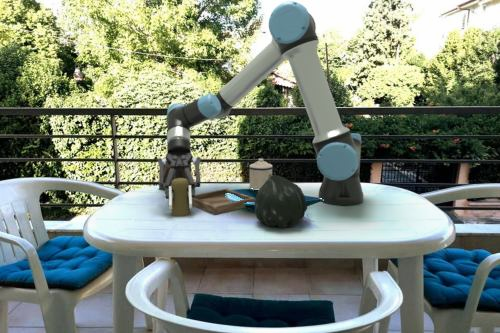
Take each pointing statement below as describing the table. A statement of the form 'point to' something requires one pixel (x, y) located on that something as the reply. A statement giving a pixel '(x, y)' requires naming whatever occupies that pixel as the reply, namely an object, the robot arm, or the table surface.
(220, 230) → the table surface
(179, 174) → the owl
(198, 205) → the tray
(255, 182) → the teacup with lid
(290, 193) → the squash
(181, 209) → the cork
